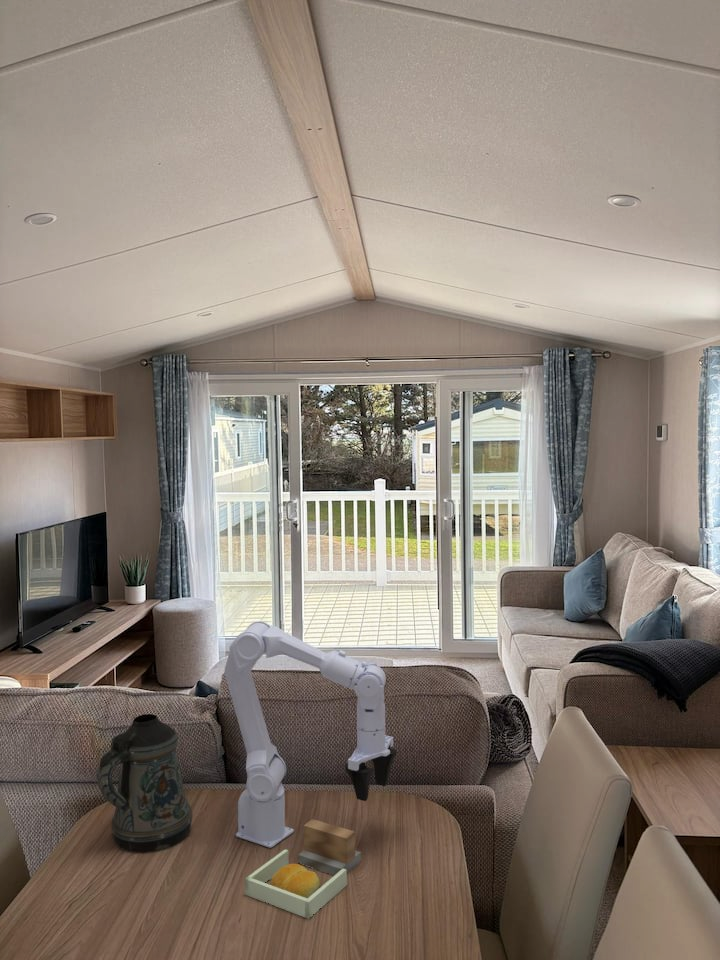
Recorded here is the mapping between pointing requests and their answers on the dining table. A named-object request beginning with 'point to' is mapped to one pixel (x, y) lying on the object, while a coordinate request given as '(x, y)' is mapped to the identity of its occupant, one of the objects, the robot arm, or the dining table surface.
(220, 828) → the dining table surface
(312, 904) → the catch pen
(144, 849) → the beer stein
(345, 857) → the scraper
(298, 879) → the bread roll
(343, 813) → the dining table surface
